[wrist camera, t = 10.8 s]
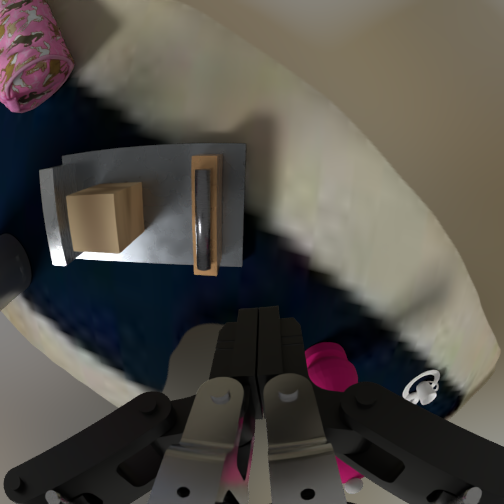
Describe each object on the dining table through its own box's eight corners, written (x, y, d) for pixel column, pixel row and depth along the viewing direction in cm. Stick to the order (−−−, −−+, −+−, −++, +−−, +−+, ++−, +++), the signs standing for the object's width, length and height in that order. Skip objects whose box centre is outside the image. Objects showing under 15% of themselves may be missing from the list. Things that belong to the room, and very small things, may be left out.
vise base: (80, 253, 29) (55, 273, 24) (69, 154, 25) (38, 160, 20) (242, 260, 29) (240, 286, 24) (246, 143, 25) (244, 143, 20)
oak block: (103, 230, 27) (73, 251, 21) (99, 184, 25) (66, 196, 19) (144, 231, 27) (119, 253, 21) (141, 182, 25) (113, 193, 19)
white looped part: (404, 405, 41) (411, 420, 37) (392, 390, 39) (400, 406, 35) (441, 379, 39) (450, 393, 35) (434, 361, 37) (444, 376, 33)
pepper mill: (315, 331, 33) (353, 480, 14) (358, 346, 34) (407, 474, 16) (286, 368, 35) (301, 505, 17) (328, 380, 37) (356, 501, 18)
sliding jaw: (201, 257, 27) (191, 281, 23) (200, 154, 24) (187, 156, 19) (221, 258, 27) (215, 282, 23) (222, 154, 24) (215, 156, 19)
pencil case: (6, 33, 16) (-32, 26, 8) (47, -13, 14) (12, -29, 6) (42, 119, 23) (-8, 122, 15) (93, 64, 21) (45, 47, 13)
